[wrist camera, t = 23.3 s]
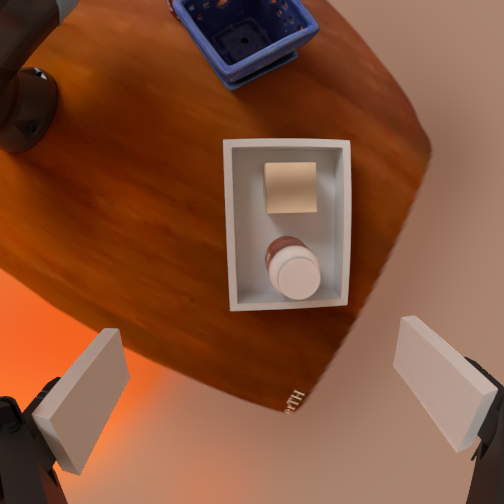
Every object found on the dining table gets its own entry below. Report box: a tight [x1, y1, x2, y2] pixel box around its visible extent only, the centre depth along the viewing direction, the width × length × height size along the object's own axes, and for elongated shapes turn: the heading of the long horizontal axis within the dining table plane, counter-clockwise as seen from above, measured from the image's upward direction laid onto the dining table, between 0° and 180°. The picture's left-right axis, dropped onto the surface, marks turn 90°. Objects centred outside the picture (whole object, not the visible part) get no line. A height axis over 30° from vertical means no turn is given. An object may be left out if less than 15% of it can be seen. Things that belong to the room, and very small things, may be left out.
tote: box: [223, 138, 351, 311], centre depth 42 cm, size 16×22×5 cm
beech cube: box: [263, 162, 317, 213], centre depth 39 cm, size 6×6×6 cm
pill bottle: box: [265, 236, 321, 300], centre depth 39 cm, size 6×6×11 cm
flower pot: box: [172, 0, 320, 91], centre depth 33 cm, size 13×13×12 cm
